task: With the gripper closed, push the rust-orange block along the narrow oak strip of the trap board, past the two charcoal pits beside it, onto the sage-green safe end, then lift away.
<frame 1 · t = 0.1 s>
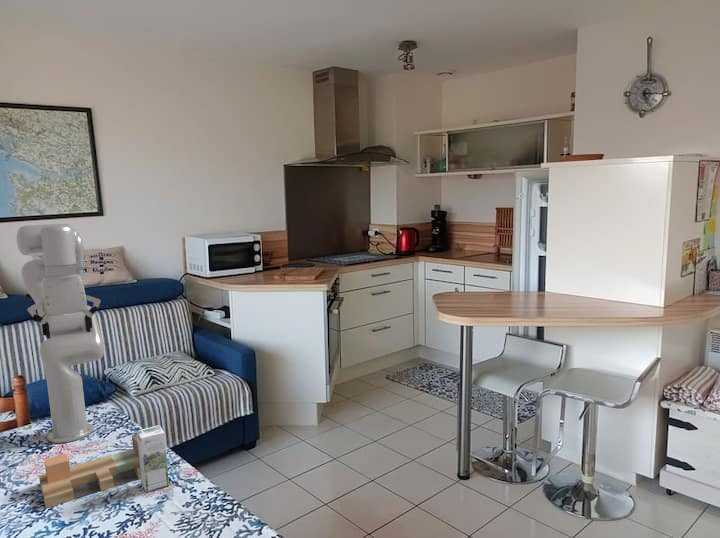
hand: (68, 334, 145), 37 cm above the table, tool pointing down, fingers open, 9 cm apart
trap board: (96, 481, 139), on the table
orange block: (58, 476, 138), point 2 cm above the table, touching trap board
syrup box: (155, 485, 136), on the table
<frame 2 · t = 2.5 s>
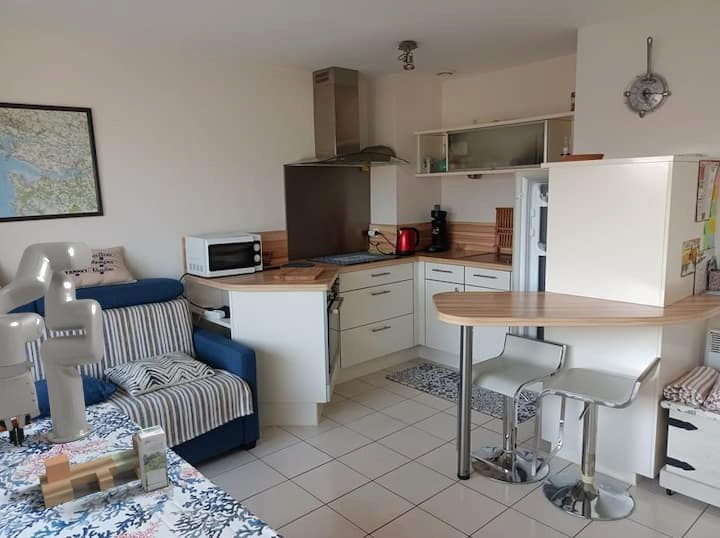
hand: (17, 443, 131), 14 cm above the table, tool pointing down, fingers closed
nothing on the table moved.
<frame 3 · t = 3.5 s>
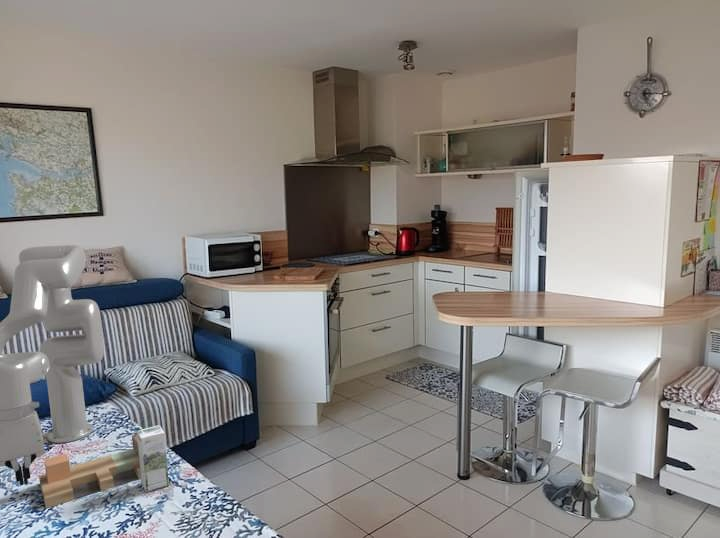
hand: (23, 482, 133), 4 cm above the table, tool pointing down, fingers closed
nothing on the table moved.
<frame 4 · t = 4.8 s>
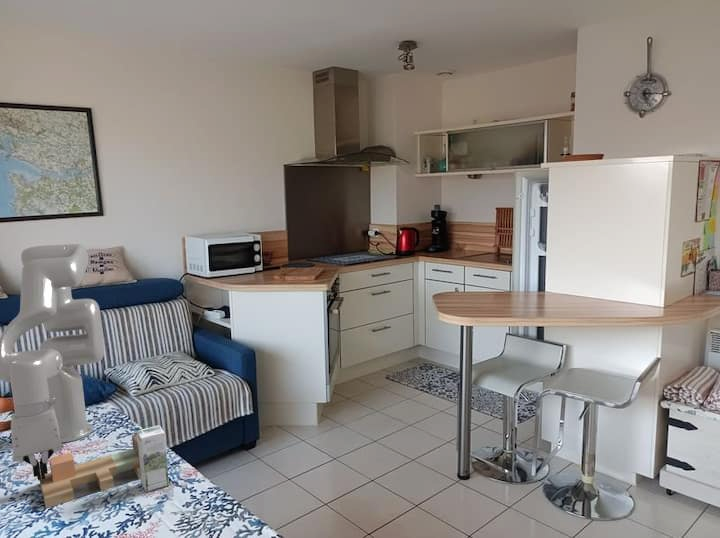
hand: (41, 477, 135), 4 cm above the table, tool pointing down, fingers closed
orange block: (63, 475, 138), point 3 cm above the table, touching gripper
everything else where it was.
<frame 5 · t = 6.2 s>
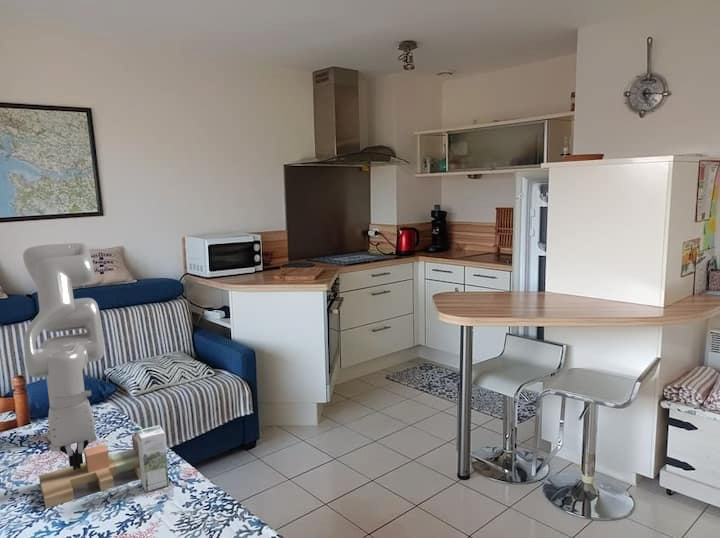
hand: (76, 467, 140), 4 cm above the table, tool pointing down, fingers closed
orange block: (97, 466, 142), point 3 cm above the table, touching gripper
everything else where it was.
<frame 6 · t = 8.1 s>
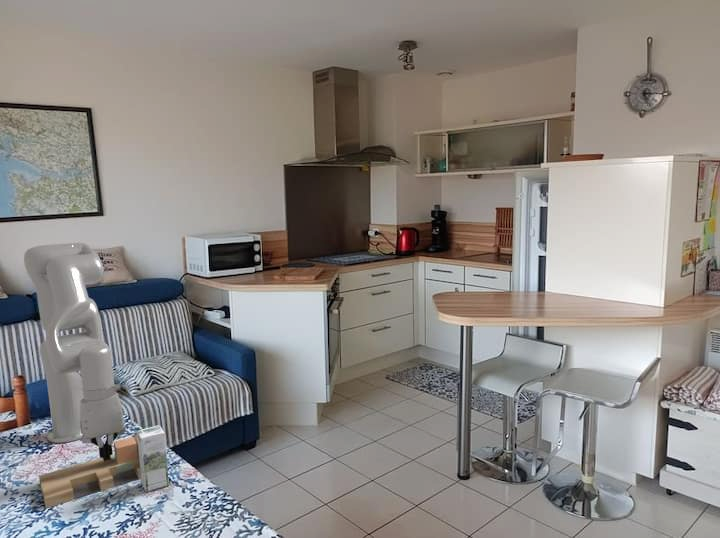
hand: (106, 458, 144), 4 cm above the table, tool pointing down, fingers closed
orange block: (126, 458, 146), point 2 cm above the table, touching gripper, trap board
everything else where it was.
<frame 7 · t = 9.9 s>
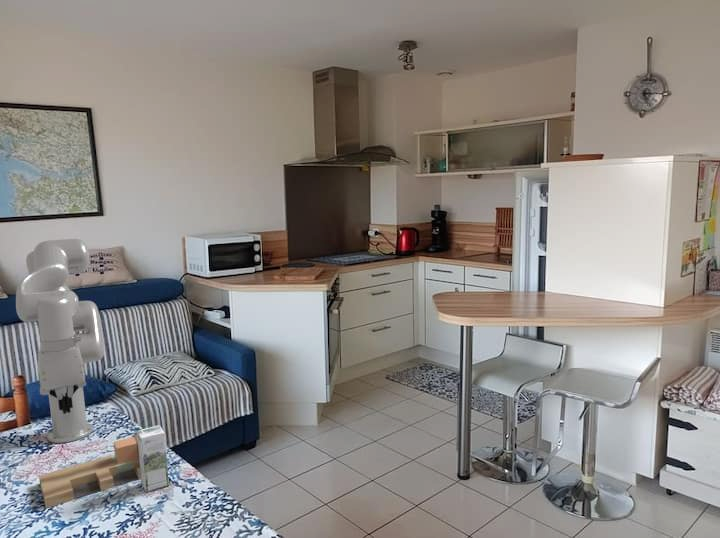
hand: (66, 411, 141), 18 cm above the table, tool pointing down, fingers closed
orange block: (126, 458, 146), point 2 cm above the table, touching trap board
everything else where it was.
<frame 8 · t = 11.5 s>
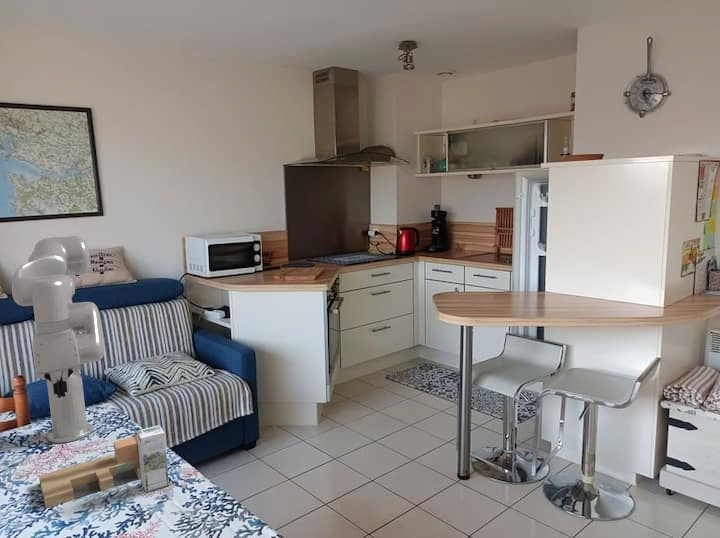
hand: (61, 395, 140), 22 cm above the table, tool pointing down, fingers closed
nothing on the table moved.
at the end: orange block 1.6 cm from the target spot on the trap board, point 2.5 cm above the trap board's base; orange block tilted 0° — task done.
